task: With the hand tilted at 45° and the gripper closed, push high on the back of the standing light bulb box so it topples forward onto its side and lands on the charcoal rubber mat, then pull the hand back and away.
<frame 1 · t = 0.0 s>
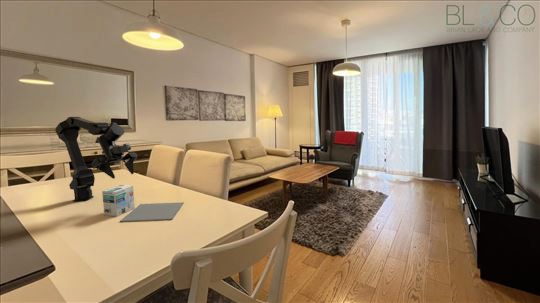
hand: (123, 176, 113), 15 cm above the table, tool tilted 35°, fingers open, 9 cm apart
light bulb box: (120, 212, 110), on the table
charcoal mat: (155, 211, 109), on the table
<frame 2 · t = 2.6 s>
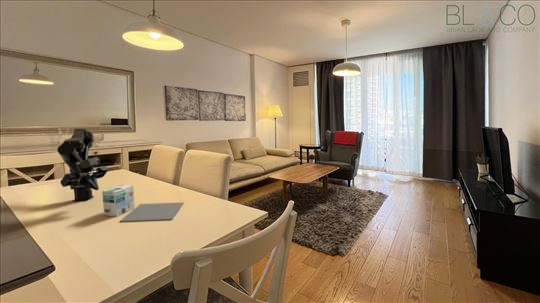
hand: (97, 189, 111), 9 cm above the table, tool tilted 45°, fingers closed
nothing on the table moved.
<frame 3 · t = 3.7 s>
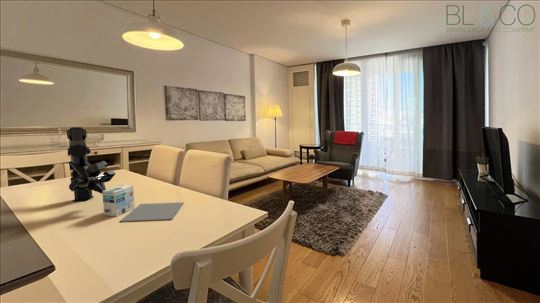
hand: (105, 193, 110), 8 cm above the table, tool tilted 45°, fingers closed
nothing on the table moved.
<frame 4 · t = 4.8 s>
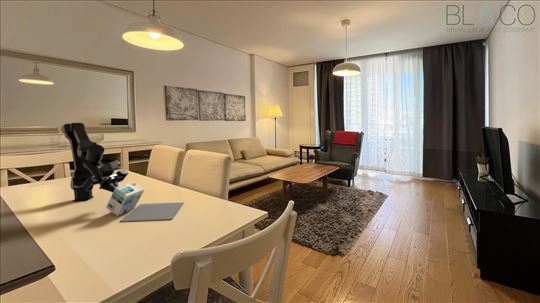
hand: (119, 193, 108), 8 cm above the table, tool tilted 45°, fingers closed, pressing on light bulb box
light bulb box: (120, 208, 109), point 2 cm above the table, touching gripper
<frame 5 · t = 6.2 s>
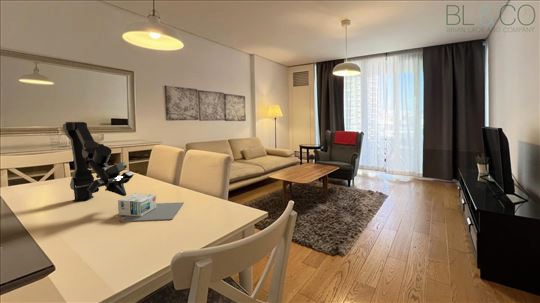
hand: (125, 195, 108), 8 cm above the table, tool tilted 45°, fingers closed
light bulb box: (126, 203, 109), point 4 cm above the table, touching charcoal mat
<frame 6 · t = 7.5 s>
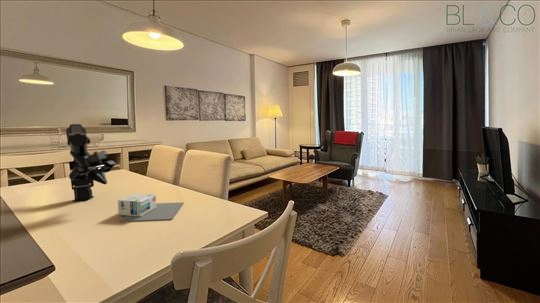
hand: (106, 183, 110), 12 cm above the table, tool tilted 45°, fingers closed
nothing on the table moved.
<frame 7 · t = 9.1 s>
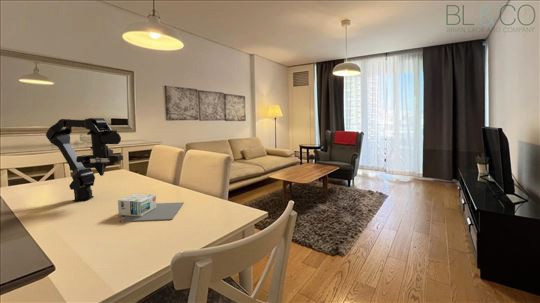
hand: (101, 175, 122), 13 cm above the table, tool pointing down, fingers closed
nothing on the table moved.
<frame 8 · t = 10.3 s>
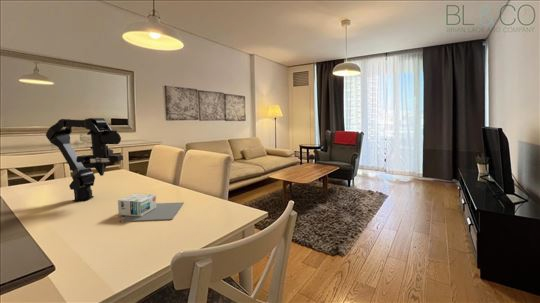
hand: (101, 175, 122), 13 cm above the table, tool pointing down, fingers closed
nothing on the table moved.
at the end: light bulb box tilted 91°; light bulb box touching charcoal mat; light bulb box moved 5.2 cm from its start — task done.
